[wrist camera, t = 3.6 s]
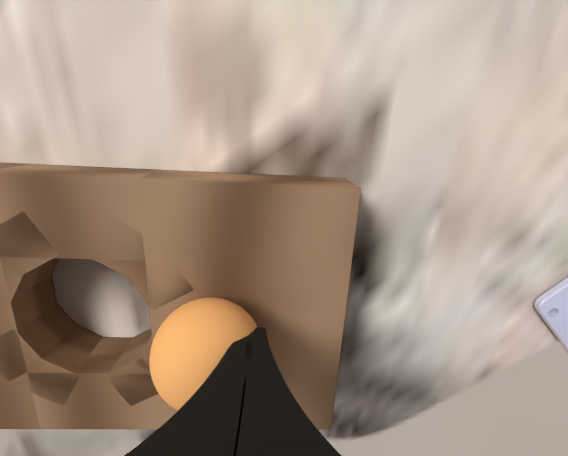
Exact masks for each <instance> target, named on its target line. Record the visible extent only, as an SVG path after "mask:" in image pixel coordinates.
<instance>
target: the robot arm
mask: <svg viewBox="0 0 568 456" xmlns="http://www.w3.org/2000/svg"><path fill="white" fill-rule="evenodd" d="M534 307H535V309H536V311H537V312H538V313H539V315H540V316H541V317H542V319H543V320H544V321H545V323H546V324H547V325H548V327H549V328H550V329H551V331H552V332H553V333H554V335H555V336H556V338H557V339H558V340H559V342H560V343H561V344H562V346H563V347H564V348H565V350H566V351H567V352H568V277H567V278H566V279H564V280H563V281H561V282H560V283H558V284H557V285H556V286H554V287H553V288H551V289H550V290H548V291H547V292H545V293H544V294H543V295H541V296H540V297H538V298H537V299H536V301H535V303H534ZM550 310H551V311H550ZM549 311H550V312H549ZM125 456H341V455H340V454H339V453H338V452H337V451H336V450H335V449H334V448H333V446H332V445H331V444H330V443H329V442H328V441H327V440H326V439H325V438H324V436H323V435H322V434H321V433H320V432H319V430H318V429H317V428H316V427H315V425H314V424H313V423H312V422H311V420H310V419H309V418H308V417H307V415H306V414H305V412H304V411H303V410H302V408H301V407H300V405H299V404H298V402H297V401H296V399H295V398H294V396H293V394H292V393H291V391H290V389H289V388H288V386H287V384H286V382H285V380H284V378H283V376H282V374H281V372H280V370H279V368H278V366H277V364H276V361H275V359H274V357H273V354H272V351H271V348H270V345H269V342H268V338H267V333H266V329H265V328H264V327H256V328H255V330H254V331H253V332H251V333H250V334H249V335H248V336H246V337H244V338H242V339H240V340H237V341H235V342H233V343H232V344H231V345H230V346H229V348H228V349H227V351H226V352H225V354H224V355H223V357H222V358H221V360H220V361H219V363H218V364H217V366H216V367H215V368H214V370H213V371H212V372H211V374H210V375H209V376H208V378H207V379H206V380H205V381H204V383H203V384H202V385H201V386H200V388H199V389H198V390H197V391H196V392H195V393H194V394H193V395H192V397H191V398H190V399H189V400H188V401H187V402H186V403H185V404H184V405H183V406H182V407H181V408H180V409H179V410H178V411H177V412H176V413H175V414H174V415H173V416H172V417H171V418H170V419H169V420H168V421H167V422H165V423H164V424H163V425H162V426H161V427H160V428H159V429H157V430H156V431H155V432H154V433H153V434H151V435H150V436H149V437H148V438H147V439H145V440H144V441H143V442H142V443H141V444H139V445H138V446H137V447H135V448H134V449H133V450H132V451H131V452H129V453H127V454H126V455H125Z"/></svg>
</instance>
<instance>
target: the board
mask: <svg viewBox="0 0 568 456" xmlns="http://www.w3.org/2000/svg"><path fill="white" fill-rule="evenodd" d="M360 192H361V188H360V187H358V186H357V185H355V184H354V183H352V182H351V181H349V180H348V179H347V178H332V177H310V176H287V175H265V174H242V173H220V172H197V171H175V170H152V169H130V168H107V167H85V166H62V165H40V164H17V163H0V429H159V428H160V427H161V426H162V425H163V424H164V423H165V422H167V421H168V420H169V419H170V418H171V417H172V416H173V415H174V414H175V413H176V412H177V411H178V410H176V409H174V408H173V407H171V406H170V405H169V404H167V403H166V402H165V401H164V400H163V399H162V397H161V396H160V395H159V393H158V392H157V390H156V388H155V386H154V384H153V381H152V378H151V374H150V365H149V357H150V350H151V346H152V343H153V339H154V337H155V335H156V333H157V331H158V329H159V327H160V326H161V324H162V323H163V322H164V321H165V319H166V318H167V317H168V316H169V315H170V314H171V313H172V312H173V311H175V310H176V309H177V308H179V307H180V306H182V305H184V304H186V303H188V302H190V301H193V300H196V299H201V298H211V297H213V298H222V299H225V300H228V301H231V302H233V303H235V304H237V305H239V306H240V307H242V308H243V309H244V310H245V311H246V312H247V313H248V314H249V315H250V316H251V317H252V319H253V320H254V322H255V323H256V325H257V327H264V328H265V329H266V333H267V338H268V342H269V345H270V348H271V351H272V354H273V357H274V359H275V361H276V364H277V366H278V368H279V370H280V372H281V374H282V376H283V378H284V380H285V382H286V384H287V386H288V388H289V389H290V391H291V393H292V394H293V396H294V398H295V399H296V401H297V402H298V404H299V405H300V407H301V408H302V410H303V411H304V412H305V414H306V415H307V417H308V418H309V419H310V420H311V422H312V423H313V424H314V425H315V427H316V428H317V429H331V424H332V416H333V408H334V400H335V392H336V384H337V376H338V368H339V360H340V352H341V344H342V336H343V328H344V320H345V312H346V304H347V296H348V288H349V280H350V272H351V264H352V256H353V248H354V240H355V232H356V224H357V216H358V208H359V200H360ZM59 258H62V259H93V260H95V261H97V262H99V263H101V264H103V265H105V266H107V267H109V268H111V269H113V270H115V271H117V272H118V273H120V274H122V275H124V276H126V277H128V278H129V279H130V281H131V282H132V283H133V285H134V286H135V287H136V289H137V290H138V291H139V293H140V294H141V295H142V297H143V298H144V299H145V301H146V302H147V303H148V305H149V310H150V321H151V329H150V330H148V331H145V332H143V333H141V334H139V335H137V336H135V337H133V338H111V337H101V336H99V335H97V334H95V333H93V332H90V331H88V330H86V329H84V328H82V327H80V326H77V325H75V323H74V322H73V321H72V320H71V319H70V318H69V316H68V315H67V314H66V313H65V312H64V311H63V309H62V308H61V307H60V306H59V305H58V304H57V302H56V298H55V293H54V287H53V282H52V277H51V274H52V272H53V270H54V268H55V266H56V264H57V262H58V260H59Z"/></svg>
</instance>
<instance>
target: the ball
mask: <svg viewBox="0 0 568 456" xmlns="http://www.w3.org/2000/svg"><path fill="white" fill-rule="evenodd" d="M256 327H257V325H256V323H255V322H254V320H253V319H252V317H251V316H250V315H249V314H248V313H247V312H246V311H245V310H244V309H243V308H242V307H240V306H239V305H237V304H235V303H233V302H231V301H228V300H225V299H222V298H213V297H211V298H201V299H196V300H193V301H190V302H188V303H186V304H184V305H182V306H180V307H179V308H177V309H176V310H175V311H173V312H172V313H171V314H170V315H169V316H168V317H167V318H166V319H165V321H164V322H163V323H162V324H161V326H160V327H159V329H158V331H157V333H156V335H155V337H154V339H153V343H152V346H151V350H150V357H149V365H150V374H151V378H152V381H153V384H154V386H155V388H156V390H157V392H158V393H159V395H160V396H161V397H162V399H163V400H164V401H165V402H166V403H167V404H169V405H170V406H171V407H173V408H174V409H176V410H179V409H180V408H181V407H182V406H183V405H184V404H185V403H186V402H187V401H188V400H189V399H190V398H191V397H192V395H193V394H194V393H195V392H196V391H197V390H198V389H199V388H200V386H201V385H202V384H203V383H204V381H205V380H206V379H207V378H208V376H209V375H210V374H211V372H212V371H213V370H214V368H215V367H216V366H217V364H218V363H219V361H220V360H221V358H222V357H223V355H224V354H225V352H226V351H227V349H228V348H229V346H230V345H231V344H232V343H233V342H235V341H237V340H240V339H242V338H244V337H246V336H248V335H249V334H250V333H251V332H253V331H254V330H255V328H256Z"/></svg>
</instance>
